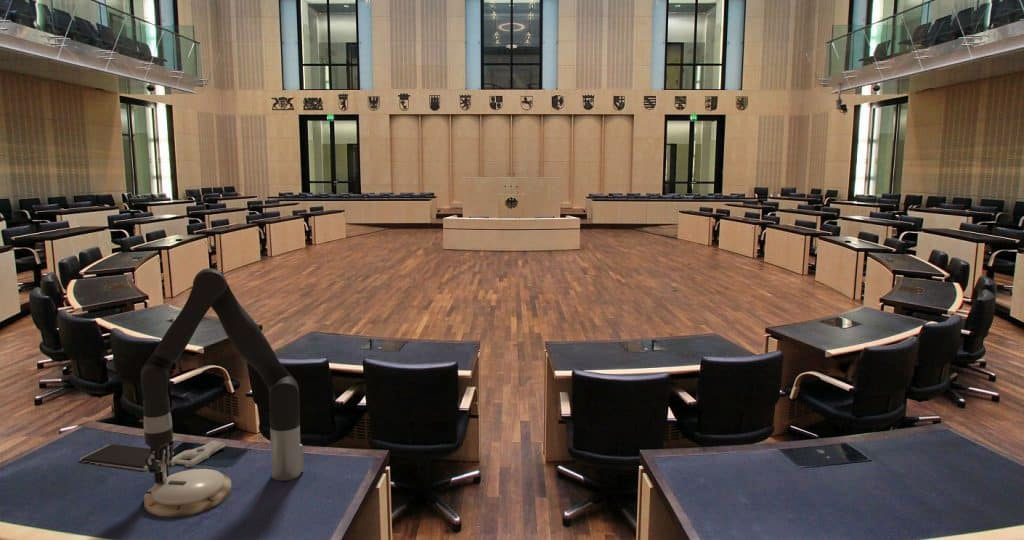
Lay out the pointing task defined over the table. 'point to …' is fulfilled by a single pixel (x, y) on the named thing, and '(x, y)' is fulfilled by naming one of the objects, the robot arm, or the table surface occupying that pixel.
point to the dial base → (188, 508)
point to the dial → (187, 486)
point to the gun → (197, 454)
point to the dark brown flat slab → (120, 457)
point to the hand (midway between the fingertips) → (162, 479)
